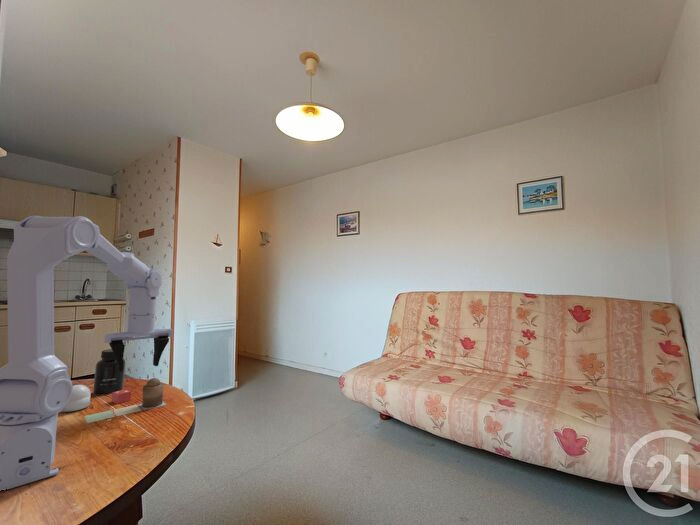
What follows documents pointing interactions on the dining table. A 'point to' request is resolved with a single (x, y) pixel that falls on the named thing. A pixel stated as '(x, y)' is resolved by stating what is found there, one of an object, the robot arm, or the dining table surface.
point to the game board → (116, 413)
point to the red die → (121, 396)
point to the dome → (78, 398)
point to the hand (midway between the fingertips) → (138, 368)
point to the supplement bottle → (108, 374)
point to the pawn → (152, 393)
